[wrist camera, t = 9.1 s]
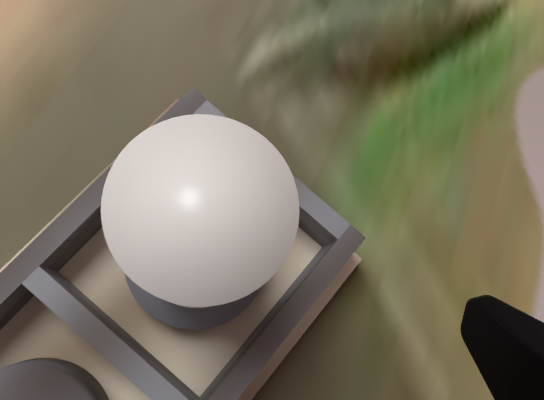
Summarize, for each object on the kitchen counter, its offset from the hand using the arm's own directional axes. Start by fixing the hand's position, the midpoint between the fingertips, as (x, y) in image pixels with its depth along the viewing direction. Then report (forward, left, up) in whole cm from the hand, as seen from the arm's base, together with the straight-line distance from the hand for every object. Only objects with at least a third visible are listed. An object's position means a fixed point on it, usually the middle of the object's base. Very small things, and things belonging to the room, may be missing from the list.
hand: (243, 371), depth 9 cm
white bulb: (+3, -2, -12) cm, 12 cm away
